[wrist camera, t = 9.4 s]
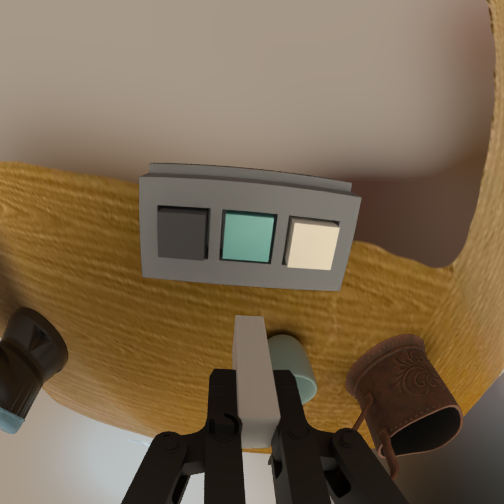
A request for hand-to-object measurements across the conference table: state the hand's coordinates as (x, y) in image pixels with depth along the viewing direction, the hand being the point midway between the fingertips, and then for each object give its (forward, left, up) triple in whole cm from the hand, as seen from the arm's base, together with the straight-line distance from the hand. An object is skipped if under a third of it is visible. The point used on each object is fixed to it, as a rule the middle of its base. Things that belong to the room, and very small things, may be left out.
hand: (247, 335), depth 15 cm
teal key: (+1, 0, -18) cm, 18 cm away
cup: (+8, -19, -21) cm, 29 cm away
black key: (-6, 0, -18) cm, 19 cm away
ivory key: (+8, 0, -17) cm, 19 cm away
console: (+1, 0, -20) cm, 20 cm away
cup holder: (+29, -26, -21) cm, 44 cm away
